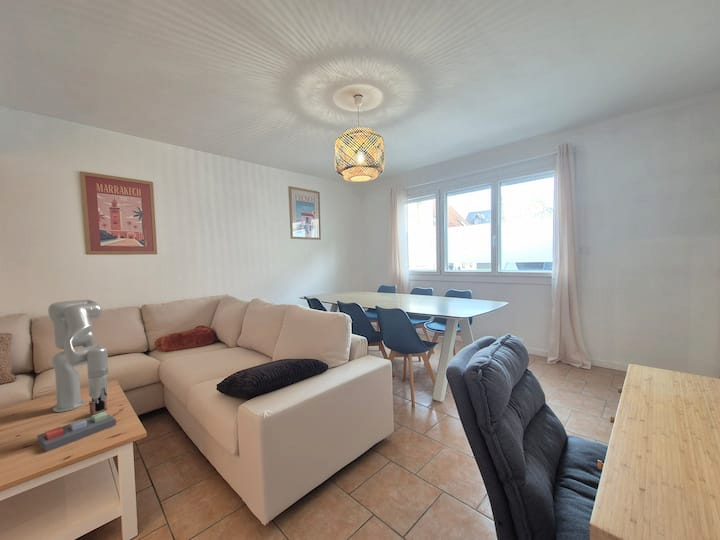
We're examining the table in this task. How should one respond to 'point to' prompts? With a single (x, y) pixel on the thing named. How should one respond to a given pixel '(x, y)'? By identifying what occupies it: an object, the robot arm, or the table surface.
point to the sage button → (99, 417)
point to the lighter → (92, 407)
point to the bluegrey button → (77, 424)
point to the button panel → (75, 433)
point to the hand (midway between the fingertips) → (100, 410)
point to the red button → (54, 433)
